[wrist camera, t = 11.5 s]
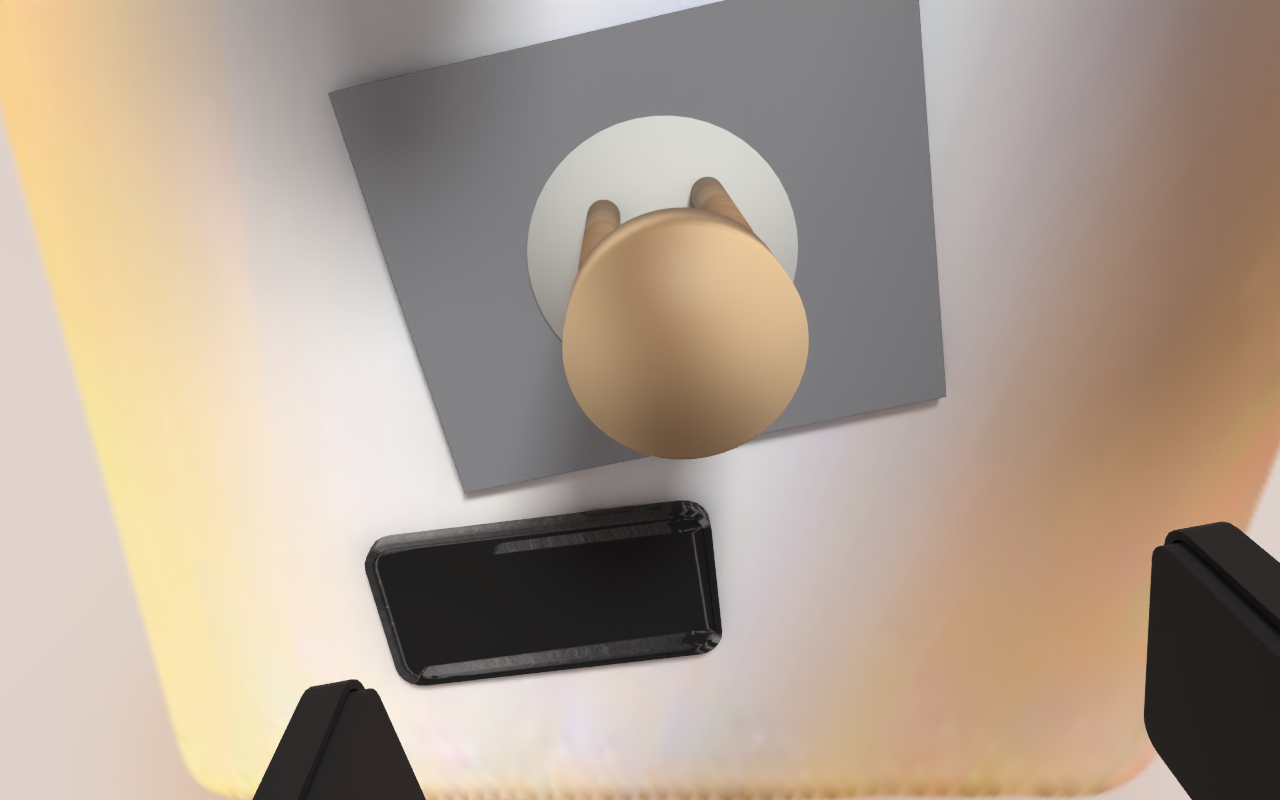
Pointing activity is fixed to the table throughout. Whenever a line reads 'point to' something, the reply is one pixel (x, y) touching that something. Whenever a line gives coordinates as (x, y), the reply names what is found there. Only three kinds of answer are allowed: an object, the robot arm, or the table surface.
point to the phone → (548, 593)
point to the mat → (654, 204)
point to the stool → (682, 328)
